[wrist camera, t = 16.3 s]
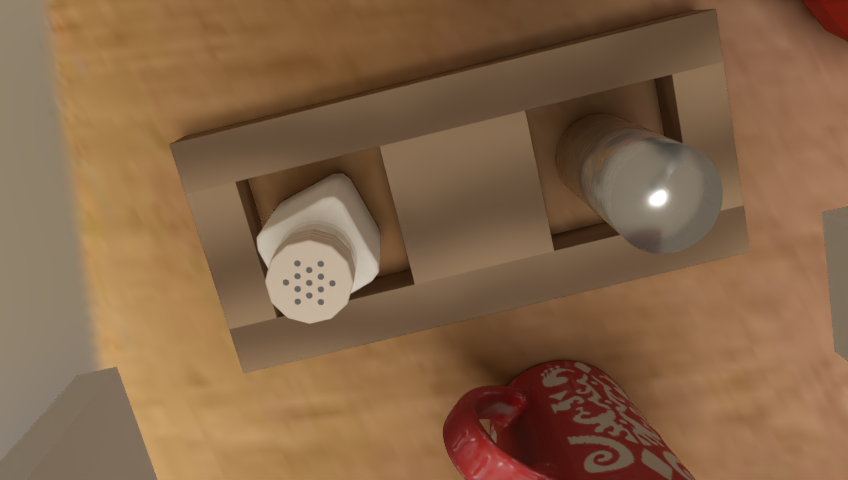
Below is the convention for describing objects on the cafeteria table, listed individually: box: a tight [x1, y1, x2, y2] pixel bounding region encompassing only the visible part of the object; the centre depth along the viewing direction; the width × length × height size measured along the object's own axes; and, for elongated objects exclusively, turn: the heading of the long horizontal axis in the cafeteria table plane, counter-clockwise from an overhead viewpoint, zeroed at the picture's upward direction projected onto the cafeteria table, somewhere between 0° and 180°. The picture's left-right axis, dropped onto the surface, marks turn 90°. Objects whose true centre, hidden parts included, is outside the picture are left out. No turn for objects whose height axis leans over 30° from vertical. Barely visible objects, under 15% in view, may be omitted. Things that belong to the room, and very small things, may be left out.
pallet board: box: [169, 9, 750, 373], centre depth 37 cm, size 11×24×2 cm, turn 104°
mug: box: [443, 361, 695, 480], centre depth 35 cm, size 13×9×14 cm
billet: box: [556, 114, 723, 254], centre depth 34 cm, size 4×4×10 cm
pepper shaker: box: [257, 173, 381, 324], centre depth 34 cm, size 4×4×10 cm
